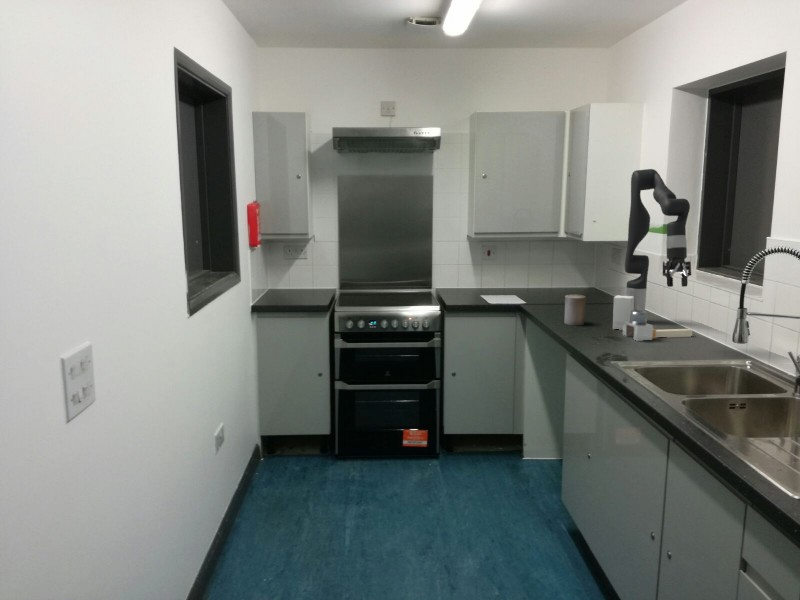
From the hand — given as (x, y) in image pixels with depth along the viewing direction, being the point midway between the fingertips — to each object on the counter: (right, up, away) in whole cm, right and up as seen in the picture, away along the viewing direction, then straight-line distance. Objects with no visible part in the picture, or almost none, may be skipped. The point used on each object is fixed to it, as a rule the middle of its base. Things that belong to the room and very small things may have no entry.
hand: (677, 286), depth 245 cm
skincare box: (-10, -19, +35) cm, 41 cm away
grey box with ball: (-10, -22, +18) cm, 30 cm away
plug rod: (+4, -22, +20) cm, 30 cm away
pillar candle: (-29, -17, +47) cm, 57 cm away
